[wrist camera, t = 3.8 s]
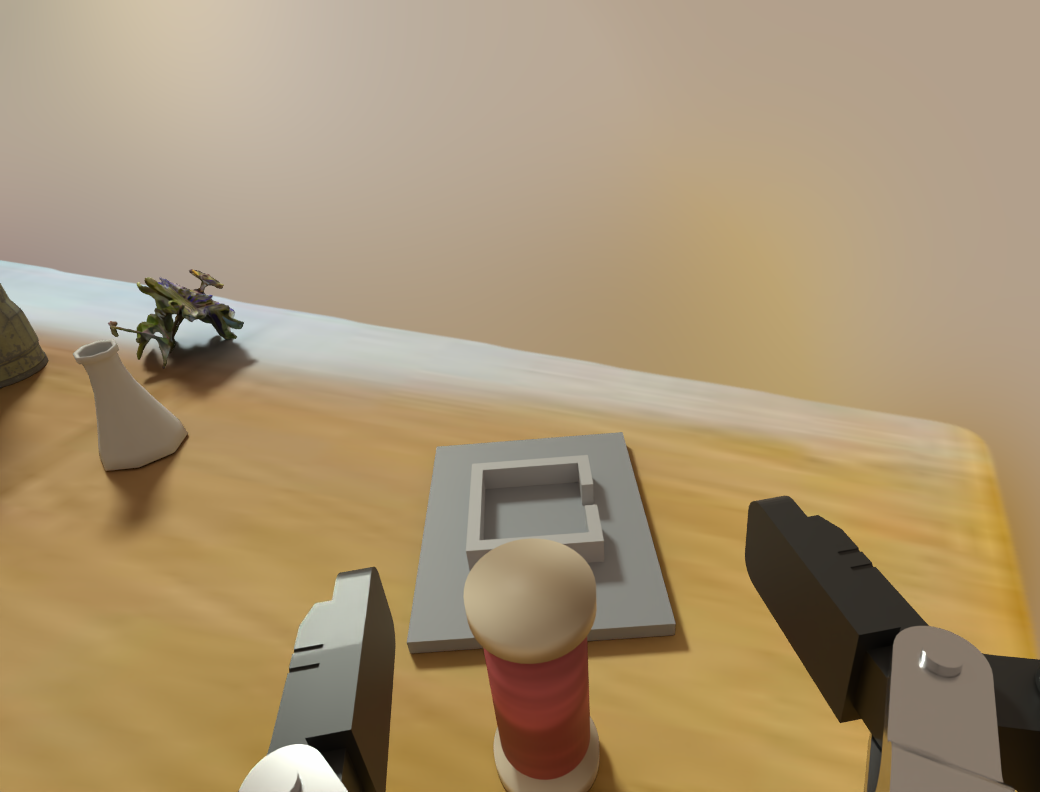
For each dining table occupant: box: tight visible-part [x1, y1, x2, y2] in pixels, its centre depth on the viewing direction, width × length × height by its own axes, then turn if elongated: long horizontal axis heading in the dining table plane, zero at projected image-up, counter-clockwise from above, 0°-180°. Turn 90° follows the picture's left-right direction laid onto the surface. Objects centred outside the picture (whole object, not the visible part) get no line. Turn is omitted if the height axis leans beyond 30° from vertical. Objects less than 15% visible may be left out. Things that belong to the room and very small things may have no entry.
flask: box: [73, 339, 188, 471], centre depth 52 cm, size 7×7×10 cm
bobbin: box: [463, 538, 599, 792], centre depth 26 cm, size 5×5×12 cm
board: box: [407, 432, 676, 653], centre depth 41 cm, size 18×15×3 cm
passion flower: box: [108, 269, 244, 368], centre depth 68 cm, size 11×11×12 cm
